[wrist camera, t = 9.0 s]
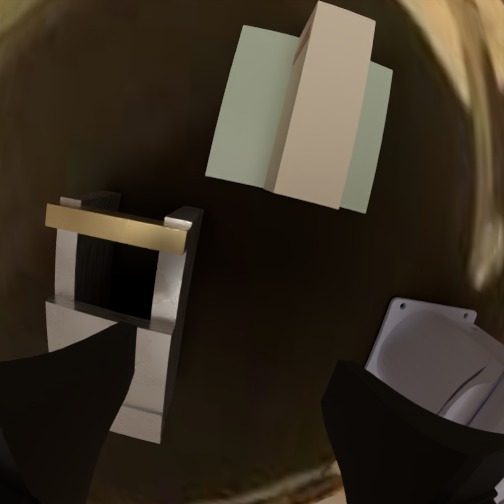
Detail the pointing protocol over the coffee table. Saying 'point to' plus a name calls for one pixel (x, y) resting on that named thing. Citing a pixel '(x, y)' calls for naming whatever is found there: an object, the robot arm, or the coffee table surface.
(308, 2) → the coffee table surface
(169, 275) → the frame
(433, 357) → the robot arm
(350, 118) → the beige rectangular block
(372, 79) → the pad
